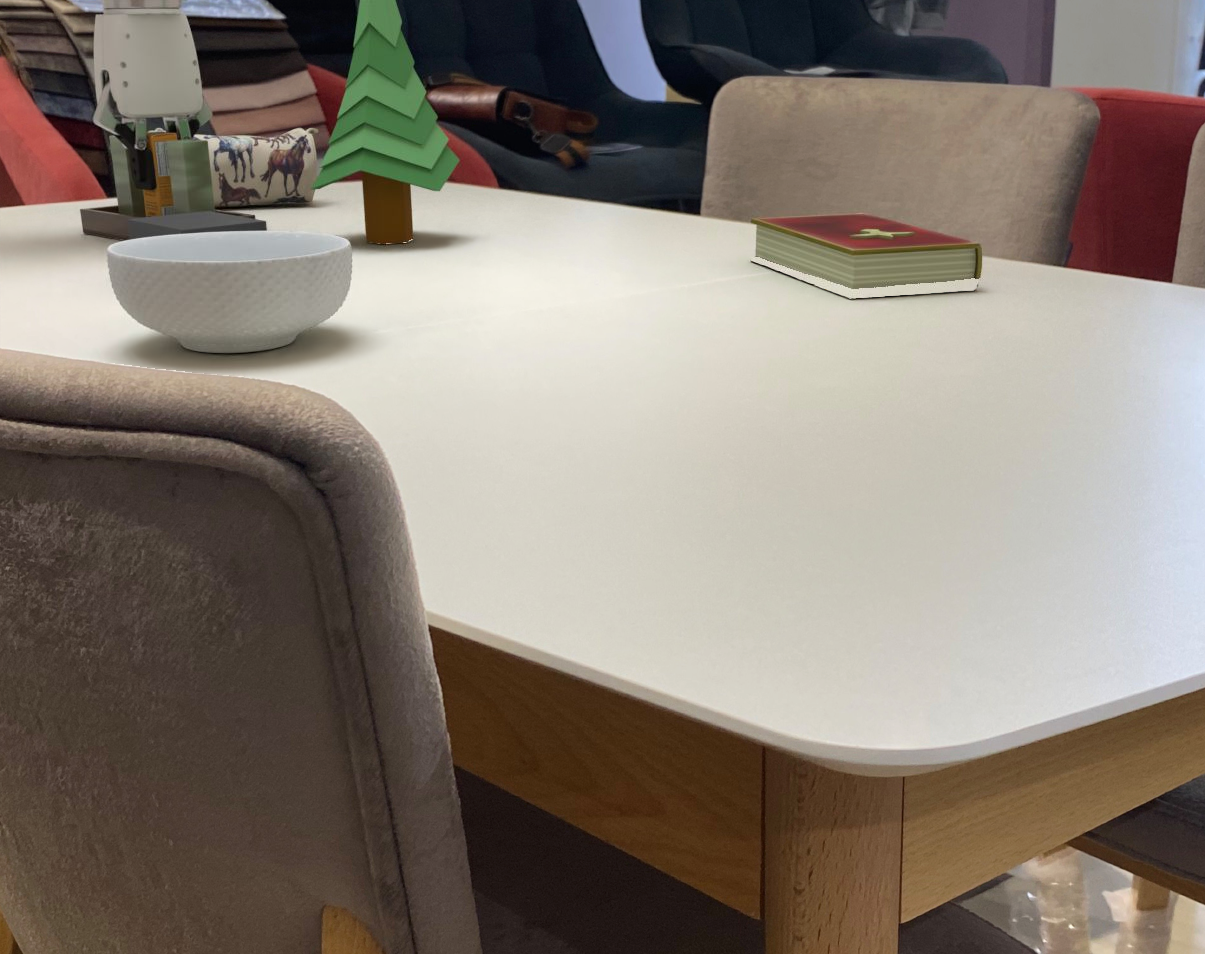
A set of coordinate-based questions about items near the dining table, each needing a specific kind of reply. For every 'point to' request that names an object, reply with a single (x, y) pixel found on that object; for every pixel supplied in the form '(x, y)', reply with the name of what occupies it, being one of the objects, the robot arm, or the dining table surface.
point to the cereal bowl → (231, 285)
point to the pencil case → (262, 168)
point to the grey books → (191, 224)
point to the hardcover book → (865, 250)
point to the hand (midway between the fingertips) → (162, 185)
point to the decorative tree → (386, 127)
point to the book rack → (111, 221)
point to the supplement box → (160, 176)
